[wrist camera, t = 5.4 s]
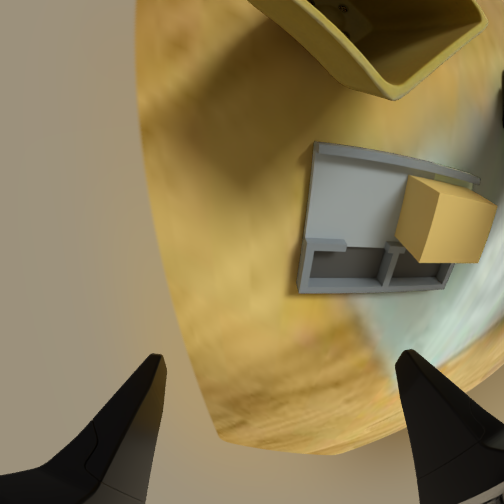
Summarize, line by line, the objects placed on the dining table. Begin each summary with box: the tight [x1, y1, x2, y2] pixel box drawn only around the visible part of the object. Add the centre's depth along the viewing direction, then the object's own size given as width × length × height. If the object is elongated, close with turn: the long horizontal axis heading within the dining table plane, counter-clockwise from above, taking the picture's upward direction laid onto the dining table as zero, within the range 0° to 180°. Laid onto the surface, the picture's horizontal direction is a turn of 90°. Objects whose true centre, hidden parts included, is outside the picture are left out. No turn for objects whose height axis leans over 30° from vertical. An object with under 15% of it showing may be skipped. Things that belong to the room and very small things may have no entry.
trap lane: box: [296, 141, 481, 293], centre depth 19 cm, size 15×11×1 cm
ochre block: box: [394, 175, 498, 263], centre depth 16 cm, size 7×5×4 cm
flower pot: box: [248, 0, 488, 101], centre depth 8 cm, size 9×9×9 cm
